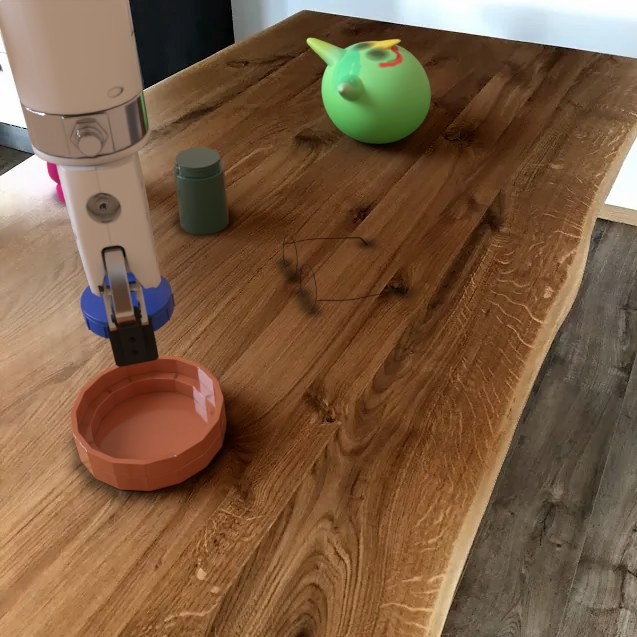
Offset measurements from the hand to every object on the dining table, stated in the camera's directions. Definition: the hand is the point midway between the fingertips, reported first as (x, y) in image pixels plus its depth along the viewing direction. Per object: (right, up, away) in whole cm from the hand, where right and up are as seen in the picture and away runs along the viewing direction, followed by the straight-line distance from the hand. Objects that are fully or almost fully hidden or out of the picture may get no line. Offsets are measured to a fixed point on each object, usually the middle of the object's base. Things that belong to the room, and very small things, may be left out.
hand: (132, 328), depth 58 cm
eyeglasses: (+17, +5, +27) cm, 32 cm away
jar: (0, +13, +36) cm, 38 cm away
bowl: (0, -10, +8) cm, 13 cm away
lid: (0, +2, -2) cm, 3 cm away
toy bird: (+23, +29, +56) cm, 67 cm away
